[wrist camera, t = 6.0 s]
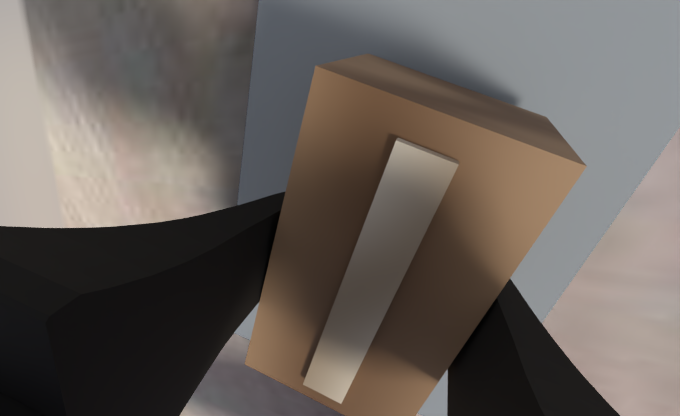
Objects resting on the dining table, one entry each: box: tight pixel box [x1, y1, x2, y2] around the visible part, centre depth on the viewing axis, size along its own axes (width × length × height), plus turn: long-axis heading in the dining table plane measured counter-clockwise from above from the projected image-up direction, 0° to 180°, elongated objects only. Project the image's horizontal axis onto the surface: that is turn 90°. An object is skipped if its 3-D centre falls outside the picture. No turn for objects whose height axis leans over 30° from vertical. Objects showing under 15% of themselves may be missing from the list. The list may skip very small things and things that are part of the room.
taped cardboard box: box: [245, 53, 587, 416], centre depth 10 cm, size 5×9×4 cm, turn 163°
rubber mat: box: [234, 0, 680, 416], centre depth 13 cm, size 18×12×1 cm, turn 166°
